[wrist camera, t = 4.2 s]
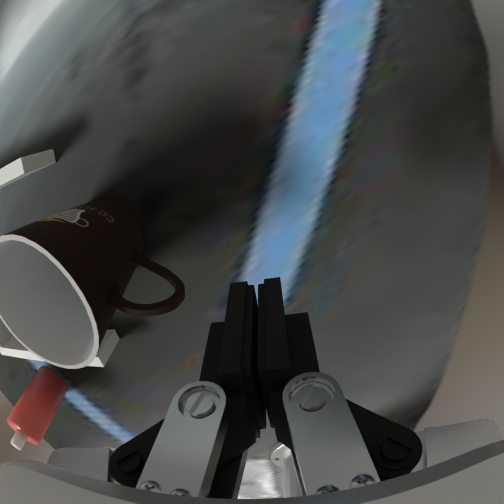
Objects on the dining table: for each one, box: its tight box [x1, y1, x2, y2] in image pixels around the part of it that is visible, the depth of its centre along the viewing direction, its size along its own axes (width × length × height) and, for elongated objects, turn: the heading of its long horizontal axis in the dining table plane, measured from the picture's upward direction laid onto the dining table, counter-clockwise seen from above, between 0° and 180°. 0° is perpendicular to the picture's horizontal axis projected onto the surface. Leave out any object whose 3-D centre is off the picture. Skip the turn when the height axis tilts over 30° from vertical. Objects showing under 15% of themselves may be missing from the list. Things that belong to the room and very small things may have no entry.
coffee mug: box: [0, 199, 185, 369], centre depth 17 cm, size 12×9×10 cm
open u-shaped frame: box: [0, 149, 119, 367], centre depth 21 cm, size 17×18×4 cm
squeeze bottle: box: [7, 367, 68, 450], centre depth 25 cm, size 5×5×12 cm
